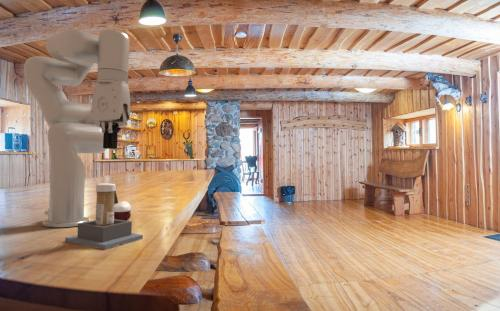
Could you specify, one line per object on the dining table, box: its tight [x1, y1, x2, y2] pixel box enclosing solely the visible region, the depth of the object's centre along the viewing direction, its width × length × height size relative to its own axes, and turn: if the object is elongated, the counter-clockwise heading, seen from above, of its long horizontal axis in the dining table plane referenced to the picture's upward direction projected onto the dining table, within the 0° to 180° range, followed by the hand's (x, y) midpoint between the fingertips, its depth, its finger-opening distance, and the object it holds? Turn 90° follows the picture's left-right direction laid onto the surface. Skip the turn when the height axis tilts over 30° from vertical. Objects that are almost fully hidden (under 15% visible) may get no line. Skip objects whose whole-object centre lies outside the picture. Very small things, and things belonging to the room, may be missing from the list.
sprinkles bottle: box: [95, 182, 117, 226], centre depth 86 cm, size 5×5×13 cm
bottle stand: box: [64, 219, 144, 250], centre depth 86 cm, size 14×12×4 cm
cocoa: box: [114, 189, 132, 221], centre depth 111 cm, size 10×6×12 cm, turn 37°
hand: (110, 148), depth 89 cm, fingers closed
